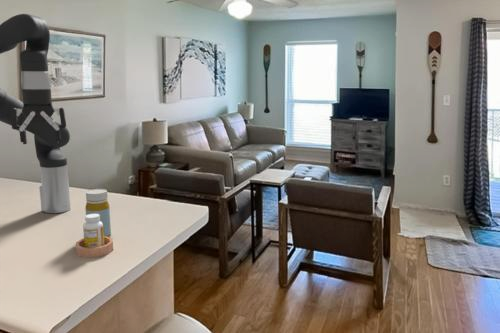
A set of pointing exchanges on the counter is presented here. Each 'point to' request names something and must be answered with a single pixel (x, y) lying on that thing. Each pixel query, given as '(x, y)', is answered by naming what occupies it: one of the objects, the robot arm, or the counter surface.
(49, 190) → the robot arm
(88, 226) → the supplement bottle
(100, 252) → the terracotta dish
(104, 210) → the bottle
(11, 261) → the counter surface
